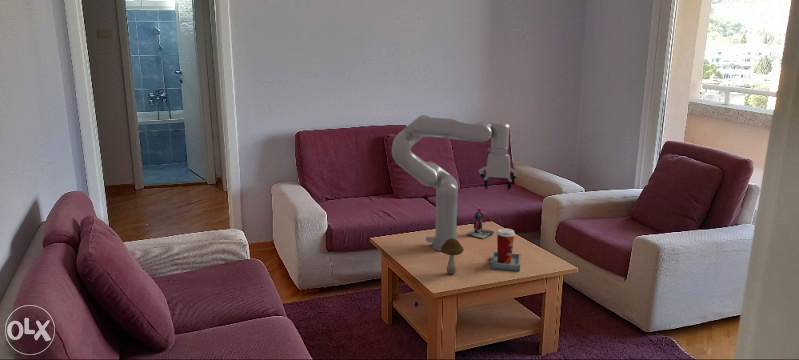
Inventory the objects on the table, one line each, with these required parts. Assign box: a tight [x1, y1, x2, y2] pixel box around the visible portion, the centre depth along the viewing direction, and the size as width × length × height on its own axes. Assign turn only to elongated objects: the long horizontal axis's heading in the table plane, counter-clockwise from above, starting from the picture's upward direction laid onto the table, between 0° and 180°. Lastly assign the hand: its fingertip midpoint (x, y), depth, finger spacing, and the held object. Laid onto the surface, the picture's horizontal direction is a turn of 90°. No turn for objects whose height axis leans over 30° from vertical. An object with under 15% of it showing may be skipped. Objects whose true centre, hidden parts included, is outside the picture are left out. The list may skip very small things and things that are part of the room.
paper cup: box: [496, 228, 516, 264], centre depth 247 cm, size 8×8×14 cm
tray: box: [489, 251, 522, 272], centre depth 249 cm, size 12×14×2 cm
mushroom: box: [440, 238, 465, 275], centre depth 237 cm, size 9×11×15 cm
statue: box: [466, 207, 495, 240], centre depth 284 cm, size 11×9×15 cm
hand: (497, 189), depth 260 cm, fingers open, 9 cm apart
